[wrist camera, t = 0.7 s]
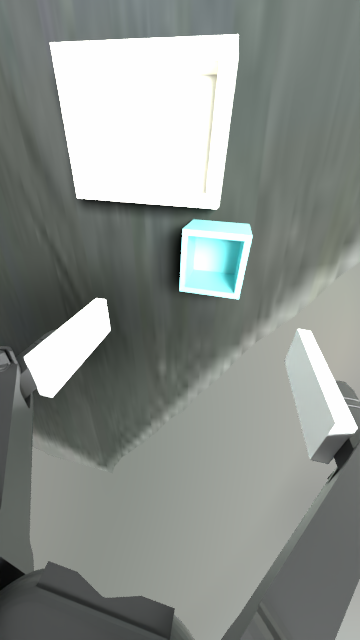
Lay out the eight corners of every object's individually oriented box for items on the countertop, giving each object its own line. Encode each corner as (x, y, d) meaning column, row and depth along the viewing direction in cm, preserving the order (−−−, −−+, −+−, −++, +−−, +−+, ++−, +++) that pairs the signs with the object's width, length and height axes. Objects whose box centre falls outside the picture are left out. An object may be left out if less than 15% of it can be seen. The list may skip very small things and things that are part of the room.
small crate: (189, 271, 37) (179, 290, 30) (193, 219, 33) (182, 228, 26) (238, 277, 36) (238, 299, 29) (249, 224, 31) (252, 235, 25)
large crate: (94, 196, 34) (77, 198, 30) (76, 62, 26) (49, 42, 23) (219, 206, 31) (216, 209, 27) (238, 57, 23) (238, 34, 20)
